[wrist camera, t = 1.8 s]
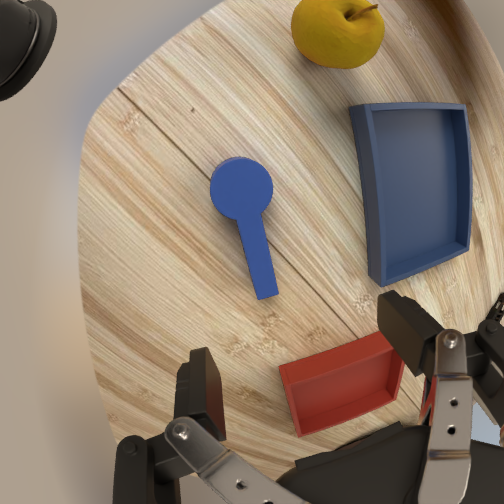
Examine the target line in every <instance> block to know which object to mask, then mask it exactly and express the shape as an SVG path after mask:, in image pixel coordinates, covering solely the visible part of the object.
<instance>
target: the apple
mask: <svg viewBox="0 0 504 504" xmlns="http://www.w3.org/2000/svg"><path fill="white" fill-rule="evenodd" d="M377 6H378V4H376V5H372V4H371V3H369V2H368V1H366V0H302V1H301V2H300V3H299V4H298V5H297V6H296V8H295V10H294V12H293V16H292V21H291V31H292V36H293V39H294V43H295V45H296V47H297V48H298V50H299V51H300V52H301V53H302V54H303V55H304V56H305V57H307V58H308V59H309V60H311V61H313V62H314V63H316V64H318V65H321V66H325V67H329V68H341V69H351V68H356V67H359V66H361V65H363V64H365V63H366V62H367V61H369V60H370V59H371V58H372V57H373V56H374V55H375V54H376V53H377V51H378V49H379V47H380V45H381V42H382V40H383V37H384V32H385V27H384V21H383V19H382V17H381V15H380V13H379V11H378V10H377V8H378V7H377Z"/></svg>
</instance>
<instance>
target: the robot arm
mask: <svg viewBox="0 0 504 504" xmlns="http://www.w3.org/2000/svg"><path fill="white" fill-rule="evenodd" d="M23 3H24V2H22V1H20V0H0V88H1V87H3V86H4V85H6V84H7V83H9V82H10V81H11V80H12V79H13V78H14V77H15V76H16V75H17V74H18V73H19V72H20V70H21V69H22V68H23V67H24V65H25V64H26V62H27V61H28V59H29V57H30V56H31V54H32V52H33V50H34V48H35V46H36V43H37V41H38V38H39V35H40V30H41V18H40V15H39V13H38V12H37V11H35V10H34V9H32V8H29V7H27V6H25V5H23ZM377 323H378V327H379V330H380V332H381V333H382V334H383V336H384V337H385V338H386V339H387V341H388V342H389V343H390V345H391V346H392V347H393V348H394V350H395V351H396V352H397V354H398V355H399V356H400V358H401V359H402V360H403V361H404V363H405V364H406V365H407V367H408V368H409V369H410V371H411V372H412V373H413V375H414V376H415V377H417V376H418V375H420V374H422V373H424V375H425V376H426V377H425V381H424V390H423V397H422V404H421V411H420V415H419V419H418V422H417V425H407V426H402V425H401V423H400V421H398V422H396V423H394V424H392V425H389V426H387V427H385V428H383V429H381V430H379V431H376V432H375V433H373V434H372V435H371V436H369V437H368V438H366V439H365V440H364V441H362V442H361V443H359V444H358V445H356V446H355V447H353V448H351V449H345V450H338V451H330V452H322V453H319V454H315V455H312V456H309V457H305V458H302V459H298V460H295V464H296V467H294V468H292V469H290V470H289V471H287V472H286V473H284V474H283V475H282V476H280V477H279V478H278V479H277V480H276V481H273V480H272V479H270V478H269V477H267V476H266V475H264V474H263V473H262V472H260V471H259V470H257V469H256V468H255V467H253V466H252V465H251V464H249V463H248V462H247V461H245V460H244V459H243V458H241V457H240V456H239V455H238V454H236V453H235V452H234V451H232V450H230V449H227V448H226V447H225V446H223V445H222V444H221V443H220V442H219V441H225V440H226V430H225V419H224V408H223V396H222V383H221V377H220V373H219V370H218V368H217V366H216V364H215V362H214V360H213V358H212V355H211V353H210V351H209V349H208V348H207V347H203V348H199V349H194V350H191V351H190V360H189V362H187V363H182V365H181V367H180V369H179V370H178V372H177V381H176V382H177V384H176V392H175V405H174V418H173V420H172V421H171V422H170V423H169V424H168V425H167V427H166V429H165V432H163V433H162V434H160V435H157V436H155V437H152V438H149V439H147V440H144V439H143V438H142V437H140V436H137V435H131V436H128V437H125V438H124V439H123V440H122V441H121V442H120V443H119V444H118V447H117V452H116V461H115V462H116V463H115V472H114V486H113V504H181V496H180V484H179V478H180V477H183V476H186V475H188V474H191V473H194V472H196V473H197V474H198V476H199V477H200V478H201V479H202V480H203V481H204V482H205V483H206V484H207V485H208V486H209V487H210V488H211V489H212V490H213V491H214V492H215V493H216V494H218V495H219V496H220V497H221V498H222V499H223V500H224V501H225V502H227V503H228V504H504V327H503V326H502V325H501V324H500V323H499V322H497V321H495V320H491V319H487V320H484V321H482V322H481V323H480V324H479V326H478V329H477V331H475V332H471V333H467V334H462V333H461V332H459V331H457V330H454V329H444V328H443V327H442V326H441V325H440V324H439V323H438V322H437V321H436V320H435V319H434V318H433V317H432V316H431V315H430V314H429V313H428V312H427V313H426V311H425V310H424V309H423V308H421V306H420V305H419V304H418V303H417V302H416V301H415V300H413V299H411V298H408V297H406V296H404V297H401V296H400V295H399V294H398V293H397V292H396V291H395V290H391V291H388V292H386V293H383V294H380V295H379V296H378V306H377ZM492 361H493V362H494V363H495V364H496V366H497V367H498V368H499V369H500V370H501V372H502V373H503V377H502V376H501V375H500V374H499V372H498V371H497V370H496V369H495V367H494V366H493V365H492V364H491V363H492ZM473 389H474V390H475V391H476V393H477V394H478V395H479V397H480V398H481V400H482V401H483V403H484V404H485V405H486V407H487V408H488V410H489V411H490V413H491V414H492V416H493V417H494V419H495V420H496V422H497V423H498V425H499V426H500V428H501V430H500V441H499V443H500V446H497V445H492V444H488V443H484V442H480V441H476V440H472V439H471V428H472V408H473Z"/></svg>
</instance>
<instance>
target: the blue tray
mask: <svg viewBox="0 0 504 504" xmlns="http://www.w3.org/2000/svg"><path fill="white" fill-rule="evenodd" d="M349 111H350V116H351V121H352V126H353V132H354V137H355V143H356V149H357V155H358V162H359V169H360V176H361V184H362V192H363V201H364V211H365V223H366V236H367V253H368V276H369V277H370V278H371V279H373V280H374V281H375V282H376V283H377V284H378V285H379V286H380V287H384V286H387V285H389V284H392V283H395V282H397V281H400V280H402V279H405V278H407V277H410V276H412V275H415V274H417V273H420V272H422V271H424V270H427V269H429V268H431V267H434V266H436V265H438V264H441V263H443V262H445V261H447V260H450V259H452V258H454V257H456V256H459V255H461V254H463V253H465V252H467V251H469V245H470V235H471V222H472V196H473V181H472V155H471V142H470V132H469V124H468V116H467V109H466V105H465V104H453V103H429V102H399V103H374V104H362V105H356V106H350V107H349Z"/></svg>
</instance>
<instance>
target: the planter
mask: <svg viewBox="0 0 504 504" xmlns="http://www.w3.org/2000/svg"><path fill="white" fill-rule="evenodd" d="M492 365H493V366H494V367H495V369H496V370H497V371H498V372H499V374H500V375H501V376H502V377H503V373H502V372H501V370H500V369H499V368H498V367H497V366H496V364H495V363H494V362H493V363H492ZM473 398H474V399H475V400H476V401H477V403H478V404H479V405H480V407H481V408H482V409H483V410H484V411H485V413H486V414H487V416H488V417H489V418H490V420H491V421H492V423H493V424H494V425H498V423H497V422H496V420H495V419H494V417H493V416H492V414H491V413H490V411H489V410H488V408H487V407H486V405H485V404H484V403H483V401H482V400H481V398H480V397H479V395H478V394H477V393H476V391H475V390H474V389H473Z"/></svg>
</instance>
